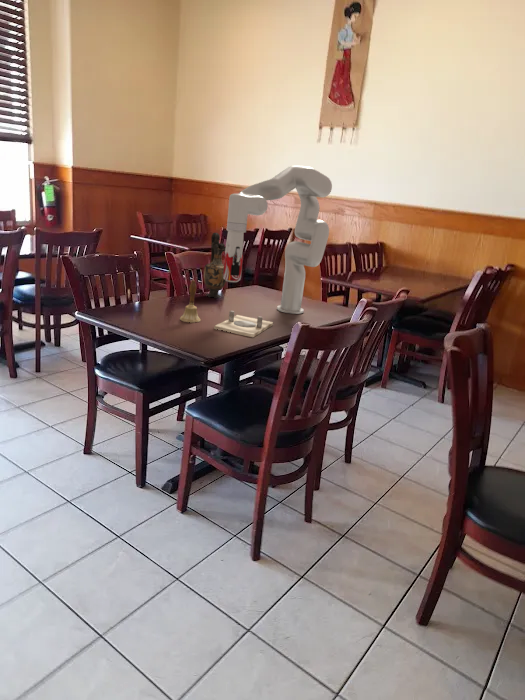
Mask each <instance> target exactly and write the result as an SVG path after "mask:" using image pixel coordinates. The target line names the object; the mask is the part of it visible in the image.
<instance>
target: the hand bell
mask: <svg viewBox="0 0 525 700" xmlns="http://www.w3.org/2000/svg"><path fill="white" fill-rule="evenodd" d="M188 291H189V304H187V305H186V306H185V308H184V312H183V313H182V315H181V316H180V318H179V320H180V321H181V322H184V323H189V322H190V323H191V324H196V323H195V322H197V323H200V322H201V321H202V320H201V318H200V317H199V315H198V307H197V306H195V295H196V292H197V284H196V279H195V280H194V279H192V280H191V282H190V285H189V290H188Z"/></svg>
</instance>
